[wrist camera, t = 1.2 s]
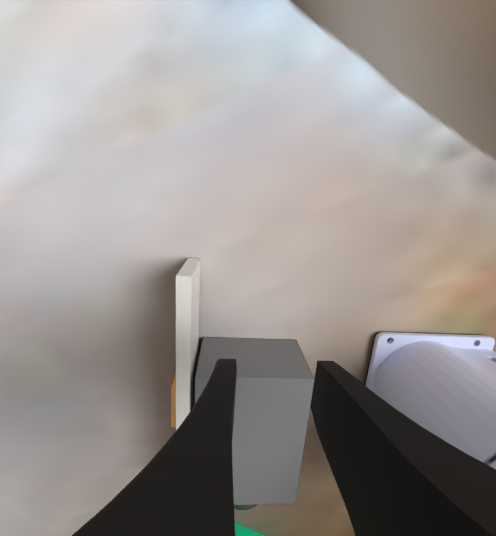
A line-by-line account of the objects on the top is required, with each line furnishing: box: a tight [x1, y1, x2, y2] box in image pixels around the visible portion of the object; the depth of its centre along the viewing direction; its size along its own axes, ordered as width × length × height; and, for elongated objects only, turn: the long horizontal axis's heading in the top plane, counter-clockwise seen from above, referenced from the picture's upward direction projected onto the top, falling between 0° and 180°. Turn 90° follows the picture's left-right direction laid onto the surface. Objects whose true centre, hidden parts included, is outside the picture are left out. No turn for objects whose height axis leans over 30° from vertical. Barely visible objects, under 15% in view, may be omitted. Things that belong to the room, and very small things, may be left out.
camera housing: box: [195, 337, 314, 510], centre depth 19 cm, size 7×11×4 cm, turn 176°
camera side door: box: [171, 258, 200, 430], centre depth 18 cm, size 1×16×4 cm, turn 176°
